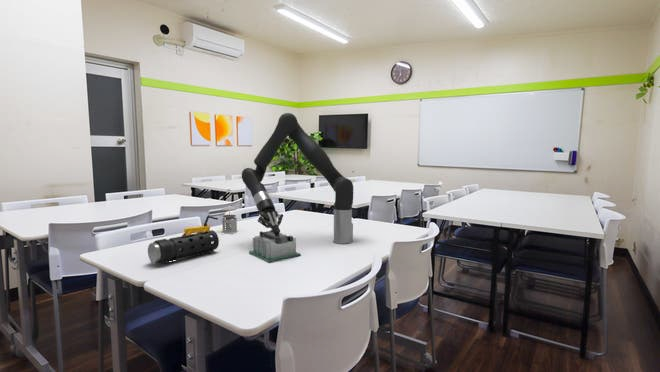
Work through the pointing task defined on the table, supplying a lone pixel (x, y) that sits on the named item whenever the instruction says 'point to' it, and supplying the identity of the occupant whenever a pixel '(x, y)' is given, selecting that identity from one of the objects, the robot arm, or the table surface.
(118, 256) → the table surface
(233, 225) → the french press
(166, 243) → the muzzle brake
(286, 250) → the board
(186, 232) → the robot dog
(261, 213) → the robot arm
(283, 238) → the grey lever
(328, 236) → the table surface
